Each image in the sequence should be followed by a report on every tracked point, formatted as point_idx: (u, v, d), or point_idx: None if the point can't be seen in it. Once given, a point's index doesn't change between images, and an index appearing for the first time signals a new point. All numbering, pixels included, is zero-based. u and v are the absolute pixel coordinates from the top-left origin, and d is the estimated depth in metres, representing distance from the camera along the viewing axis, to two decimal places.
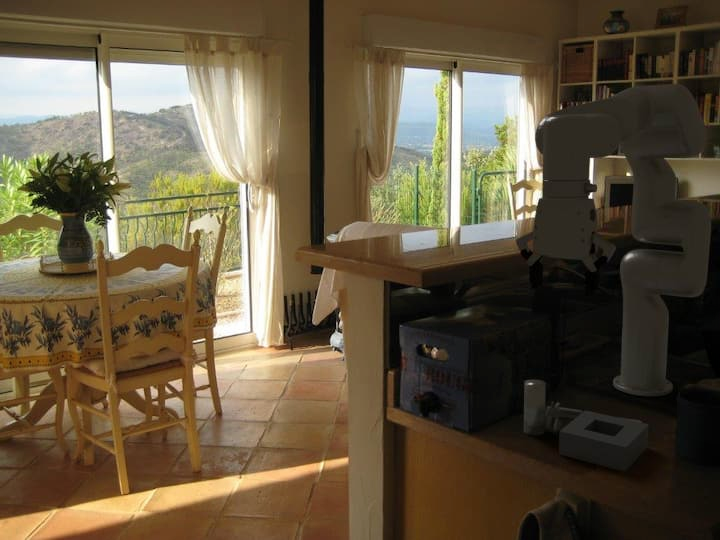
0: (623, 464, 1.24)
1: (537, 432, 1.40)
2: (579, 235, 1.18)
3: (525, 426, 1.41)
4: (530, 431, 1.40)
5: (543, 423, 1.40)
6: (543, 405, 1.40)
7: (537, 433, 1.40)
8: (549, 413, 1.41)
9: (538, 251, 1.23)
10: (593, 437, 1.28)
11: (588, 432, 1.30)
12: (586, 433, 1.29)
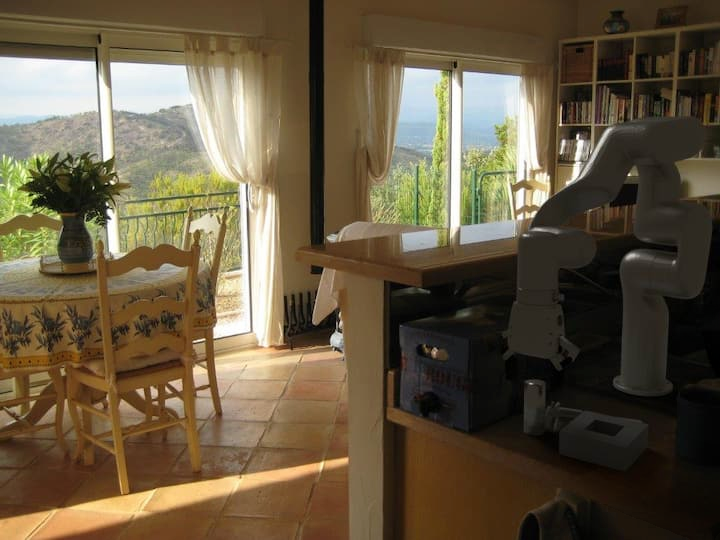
0: (623, 464, 1.24)
1: (537, 432, 1.40)
2: (547, 338, 1.34)
3: (525, 426, 1.41)
4: (530, 431, 1.40)
5: (543, 423, 1.40)
6: (543, 405, 1.40)
7: (537, 433, 1.40)
8: (549, 413, 1.41)
9: (512, 348, 1.39)
10: (593, 437, 1.28)
11: (588, 432, 1.30)
12: (586, 433, 1.29)
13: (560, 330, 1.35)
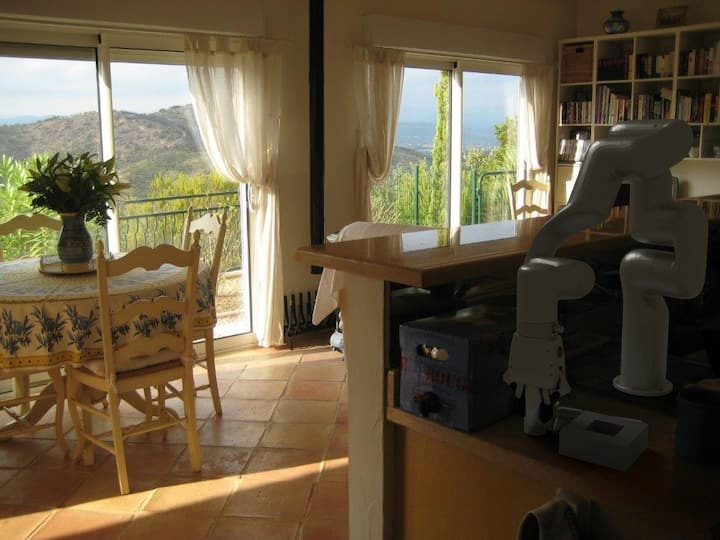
0: (623, 464, 1.24)
1: (538, 432, 1.40)
2: (548, 370, 1.36)
3: (526, 426, 1.41)
4: (531, 431, 1.40)
5: None
6: None
7: (538, 433, 1.40)
8: None
9: (513, 379, 1.41)
10: (593, 437, 1.28)
11: (588, 432, 1.30)
12: (586, 433, 1.29)
13: (560, 361, 1.36)
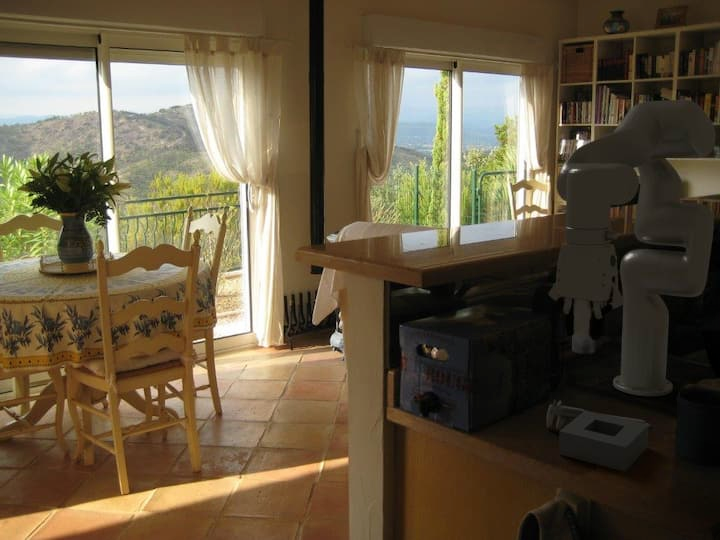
0: (623, 464, 1.24)
1: (587, 350, 1.30)
2: (600, 280, 1.26)
3: (574, 344, 1.31)
4: (579, 349, 1.30)
5: (593, 341, 1.30)
6: None
7: (587, 351, 1.30)
8: (551, 411, 1.42)
9: (561, 293, 1.31)
10: (593, 437, 1.28)
11: (588, 432, 1.30)
12: (586, 433, 1.29)
13: (613, 271, 1.26)
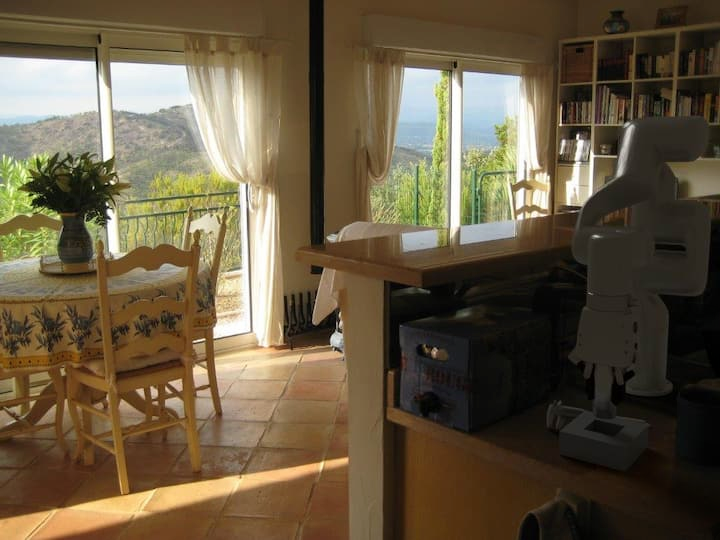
0: (623, 464, 1.24)
1: (608, 416, 1.29)
2: (623, 347, 1.25)
3: (595, 409, 1.30)
4: (601, 414, 1.29)
5: (615, 406, 1.29)
6: None
7: (608, 417, 1.29)
8: (551, 411, 1.42)
9: (582, 357, 1.30)
10: (593, 437, 1.28)
11: (588, 432, 1.30)
12: (586, 433, 1.29)
13: (636, 338, 1.25)
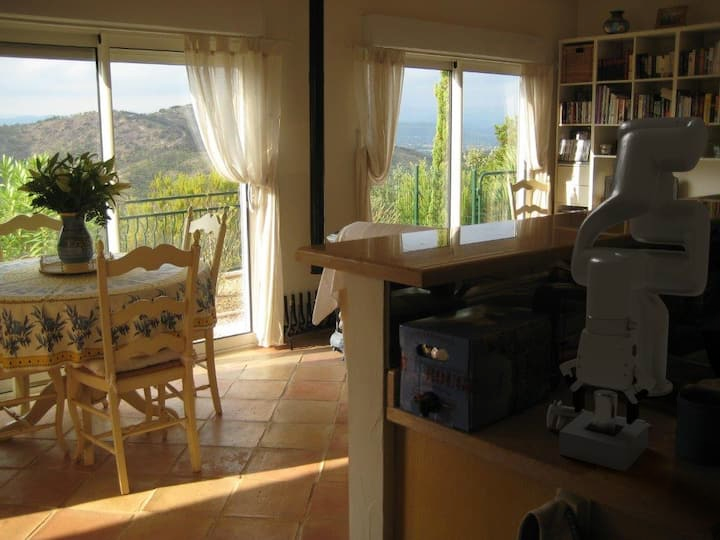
0: (623, 464, 1.24)
1: None
2: (622, 369, 1.26)
3: None
4: None
5: None
6: (615, 417, 1.30)
7: None
8: (551, 411, 1.42)
9: (581, 379, 1.31)
10: (593, 437, 1.28)
11: (588, 432, 1.30)
12: (586, 433, 1.29)
13: (635, 360, 1.26)
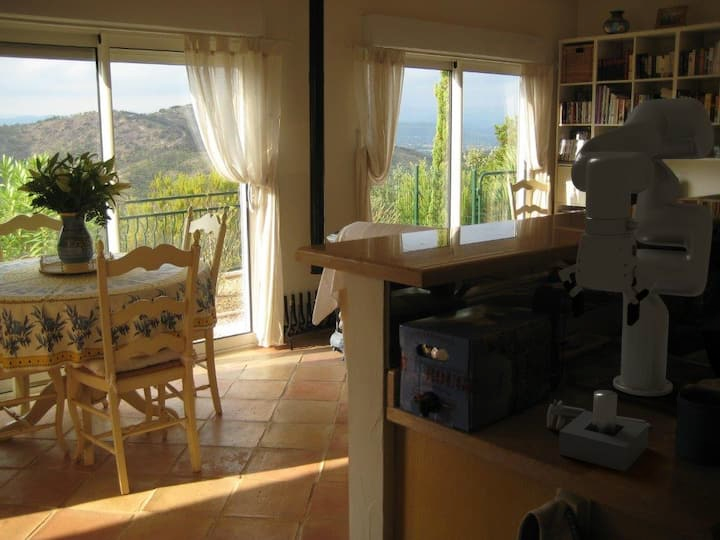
0: (623, 464, 1.24)
1: None
2: (622, 270, 1.25)
3: None
4: None
5: None
6: (615, 418, 1.30)
7: None
8: (551, 411, 1.42)
9: (581, 283, 1.30)
10: (593, 437, 1.28)
11: (588, 432, 1.30)
12: (586, 433, 1.29)
13: (634, 261, 1.25)
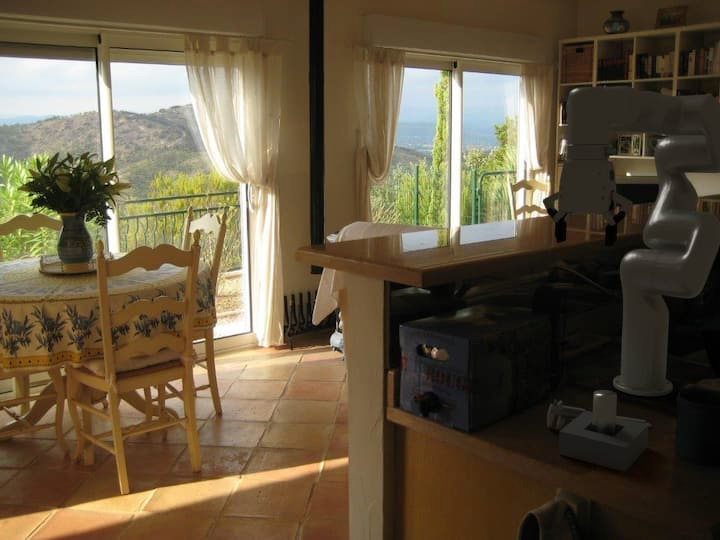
0: (623, 464, 1.24)
1: None
2: (600, 193, 1.34)
3: None
4: None
5: None
6: (614, 418, 1.30)
7: None
8: (552, 411, 1.42)
9: (563, 209, 1.39)
10: (593, 437, 1.28)
11: (588, 432, 1.30)
12: (586, 433, 1.29)
13: (612, 185, 1.35)
